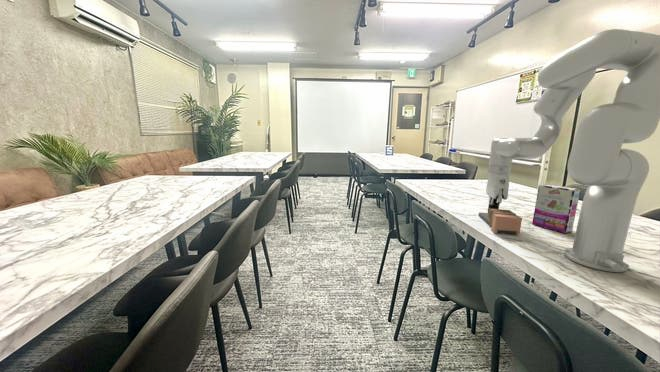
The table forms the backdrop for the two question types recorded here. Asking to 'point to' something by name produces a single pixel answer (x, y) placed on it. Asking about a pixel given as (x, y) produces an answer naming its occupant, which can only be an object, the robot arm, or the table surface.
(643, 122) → the robot arm
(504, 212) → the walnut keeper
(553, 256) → the table surface
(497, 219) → the block
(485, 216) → the metal rail
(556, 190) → the candy bar box
